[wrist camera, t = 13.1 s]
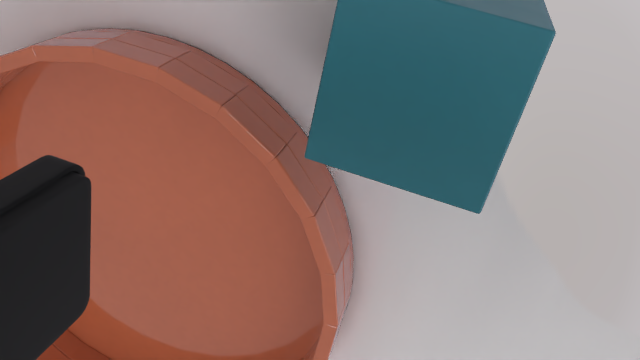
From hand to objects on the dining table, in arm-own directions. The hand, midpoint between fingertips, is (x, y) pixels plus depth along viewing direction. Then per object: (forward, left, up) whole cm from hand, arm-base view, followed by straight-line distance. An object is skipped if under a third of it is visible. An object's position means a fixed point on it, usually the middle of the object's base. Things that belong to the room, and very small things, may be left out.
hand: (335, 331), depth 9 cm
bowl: (+10, +10, -13) cm, 19 cm away
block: (0, -2, -13) cm, 13 cm away
